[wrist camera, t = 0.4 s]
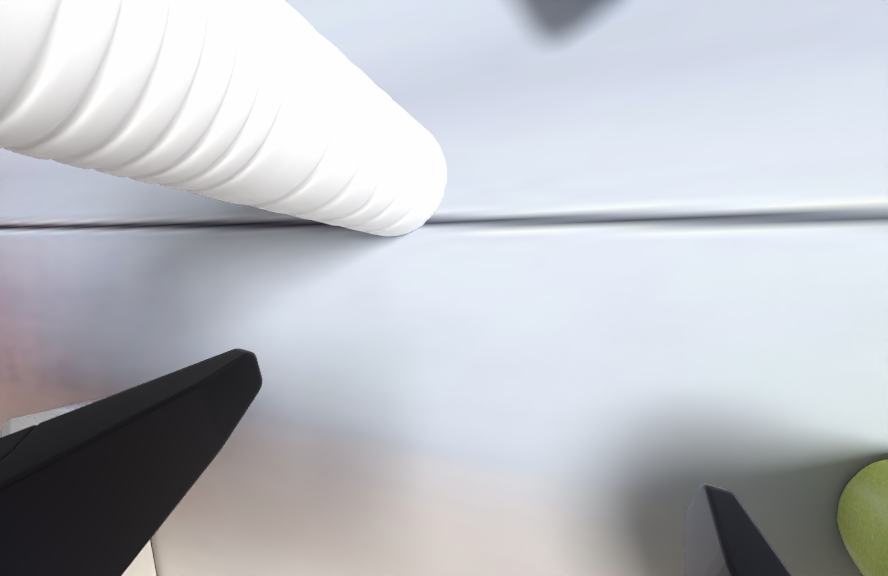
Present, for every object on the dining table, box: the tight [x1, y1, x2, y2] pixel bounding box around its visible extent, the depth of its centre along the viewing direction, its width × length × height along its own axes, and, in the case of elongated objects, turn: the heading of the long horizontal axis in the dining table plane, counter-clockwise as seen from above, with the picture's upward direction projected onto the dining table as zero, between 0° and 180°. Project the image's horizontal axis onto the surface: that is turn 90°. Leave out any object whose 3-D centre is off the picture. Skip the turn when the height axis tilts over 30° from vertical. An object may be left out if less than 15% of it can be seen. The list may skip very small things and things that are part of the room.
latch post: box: [1, 396, 109, 437], centre depth 29 cm, size 2×2×6 cm
